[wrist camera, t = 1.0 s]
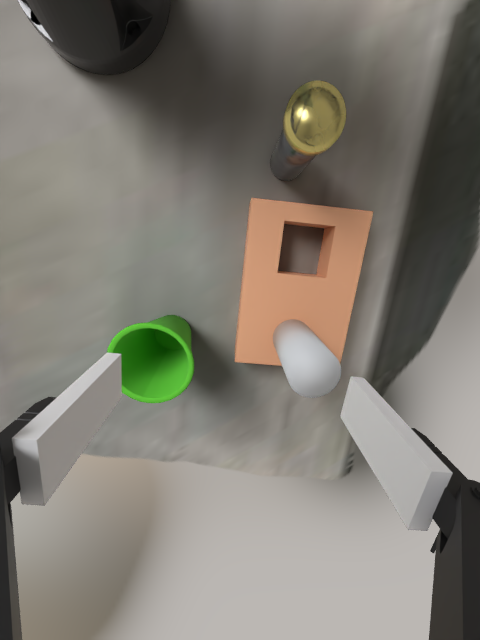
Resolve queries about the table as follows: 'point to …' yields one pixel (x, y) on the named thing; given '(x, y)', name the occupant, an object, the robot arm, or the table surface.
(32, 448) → the robot arm
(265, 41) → the table surface
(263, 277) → the peach square-hole plate
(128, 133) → the table surface
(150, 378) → the cup
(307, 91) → the pin
